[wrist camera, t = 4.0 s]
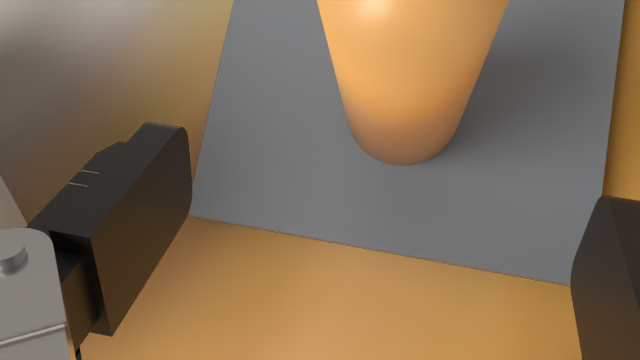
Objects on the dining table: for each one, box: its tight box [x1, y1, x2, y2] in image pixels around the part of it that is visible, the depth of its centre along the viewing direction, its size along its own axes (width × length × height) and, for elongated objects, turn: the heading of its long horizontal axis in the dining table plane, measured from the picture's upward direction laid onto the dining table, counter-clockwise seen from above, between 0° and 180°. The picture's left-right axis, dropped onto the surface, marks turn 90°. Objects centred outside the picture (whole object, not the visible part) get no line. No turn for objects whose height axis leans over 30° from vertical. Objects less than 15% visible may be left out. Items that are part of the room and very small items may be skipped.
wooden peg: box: [317, 0, 509, 166], centre depth 17 cm, size 4×4×10 cm
